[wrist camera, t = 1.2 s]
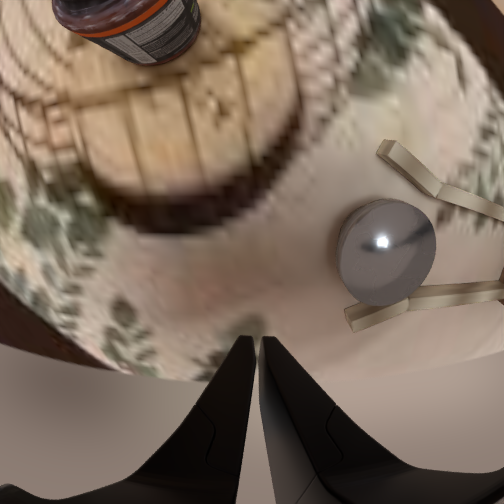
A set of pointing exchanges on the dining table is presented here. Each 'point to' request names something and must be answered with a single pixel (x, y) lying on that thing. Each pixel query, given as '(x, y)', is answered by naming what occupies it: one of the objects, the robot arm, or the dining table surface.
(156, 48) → the supplement bottle
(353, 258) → the stud
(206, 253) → the dining table surface
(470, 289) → the channel
